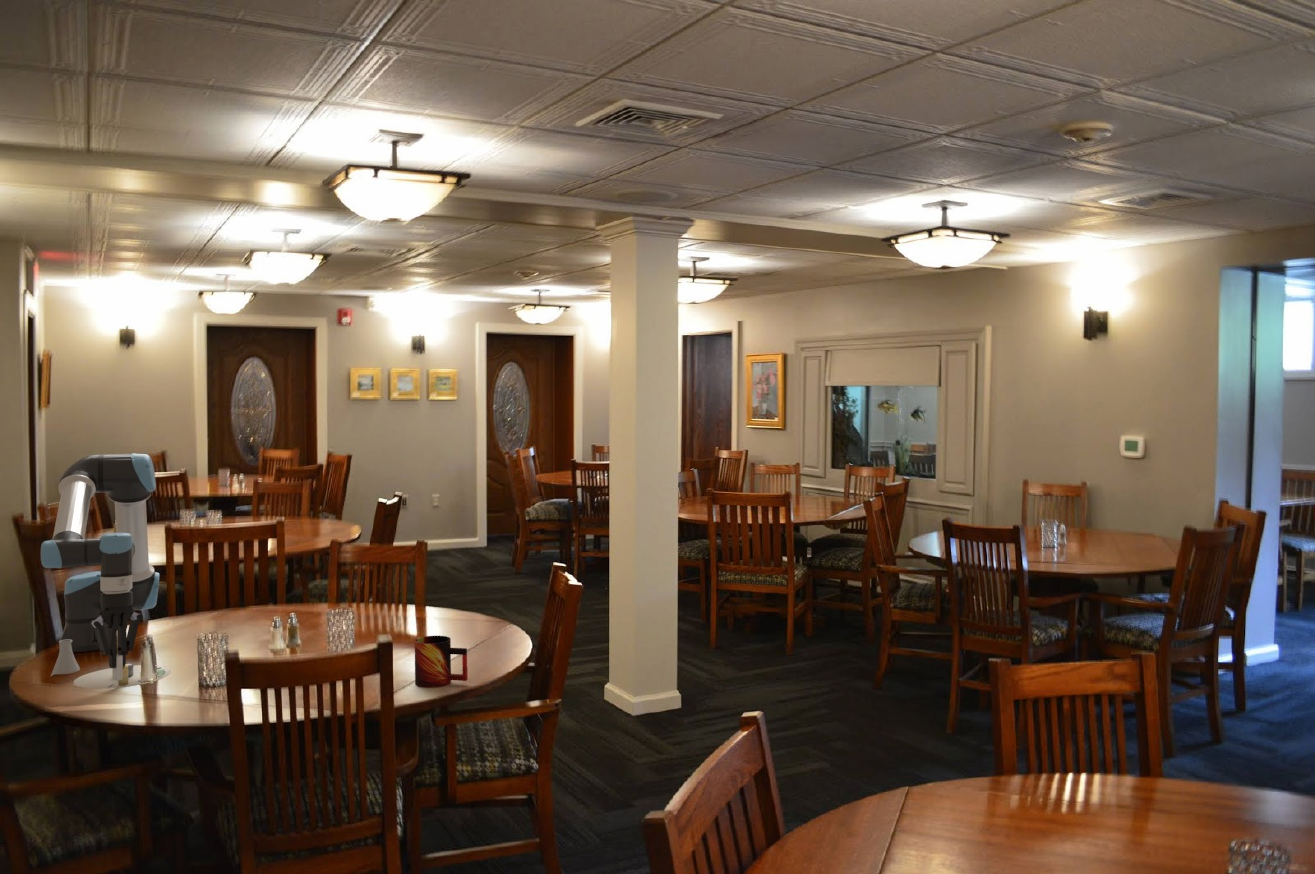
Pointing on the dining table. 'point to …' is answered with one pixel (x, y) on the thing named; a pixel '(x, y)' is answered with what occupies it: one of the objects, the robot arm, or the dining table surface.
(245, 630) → the dining table surface
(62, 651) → the flask
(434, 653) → the mug
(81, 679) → the dial board
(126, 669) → the crank handle
